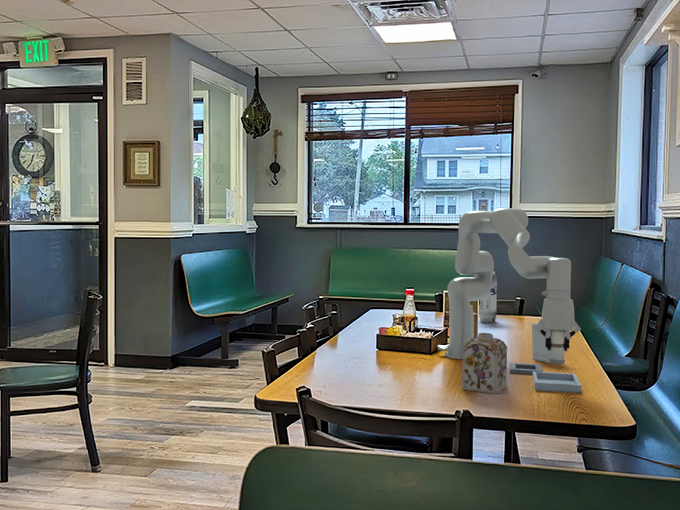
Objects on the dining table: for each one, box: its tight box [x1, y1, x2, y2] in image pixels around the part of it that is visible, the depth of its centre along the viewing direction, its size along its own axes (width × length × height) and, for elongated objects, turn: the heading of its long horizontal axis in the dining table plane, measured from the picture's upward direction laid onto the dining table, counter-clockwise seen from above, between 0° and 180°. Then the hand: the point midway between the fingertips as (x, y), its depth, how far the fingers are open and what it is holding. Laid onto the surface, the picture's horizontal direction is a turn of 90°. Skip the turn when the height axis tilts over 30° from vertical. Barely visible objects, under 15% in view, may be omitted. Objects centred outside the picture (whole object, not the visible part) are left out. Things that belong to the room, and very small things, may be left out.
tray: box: [532, 371, 582, 394], centre depth 220 cm, size 14×16×2 cm
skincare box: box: [531, 322, 551, 364], centre depth 257 cm, size 8×6×15 cm
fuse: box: [549, 330, 566, 365], centre depth 219 cm, size 5×5×12 cm
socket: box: [509, 362, 544, 376], centre depth 240 cm, size 11×14×2 cm
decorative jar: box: [461, 332, 508, 395], centre depth 215 cm, size 12×12×18 cm
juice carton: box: [478, 271, 498, 323], centre depth 354 cm, size 9×10×27 cm
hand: (557, 349), depth 219 cm, fingers closed on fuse, 4 cm apart
